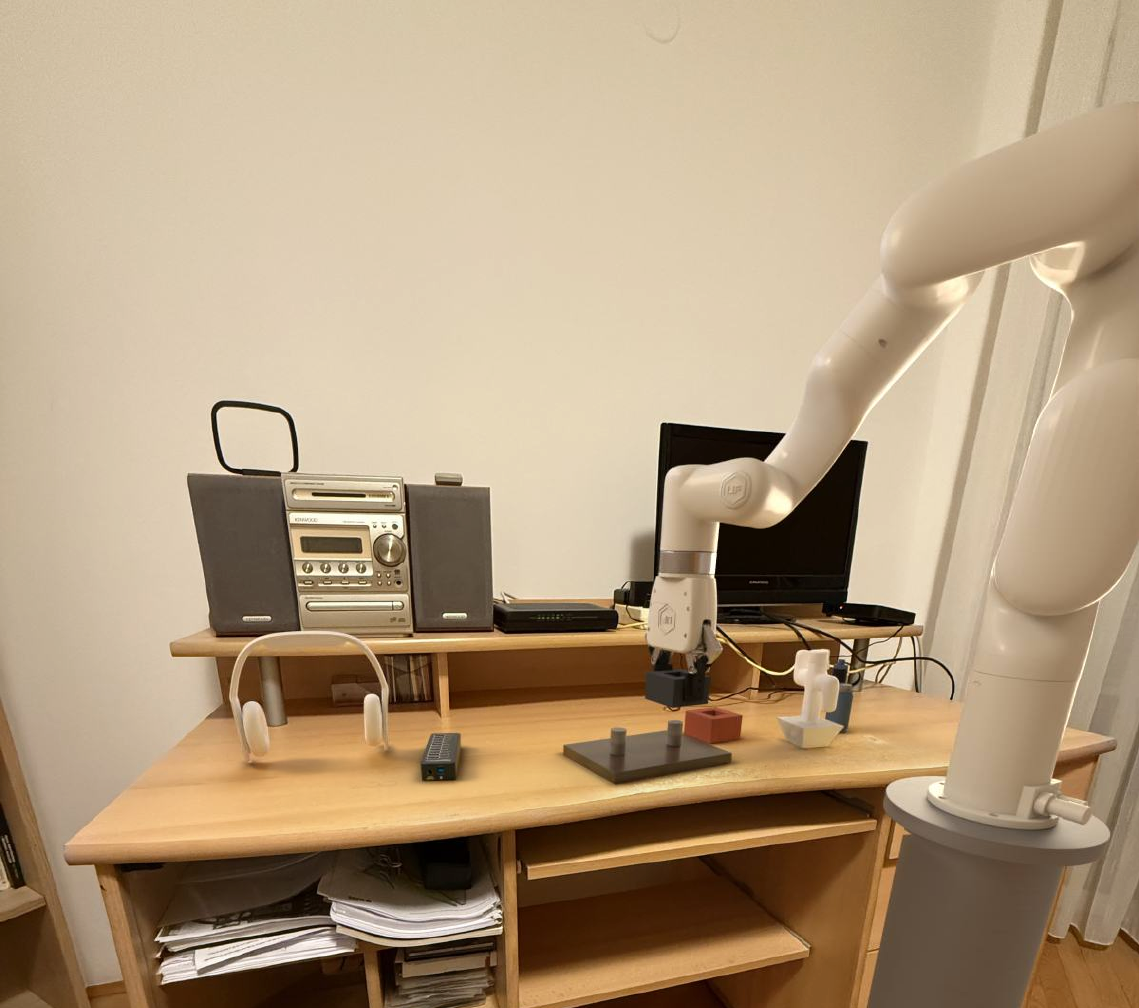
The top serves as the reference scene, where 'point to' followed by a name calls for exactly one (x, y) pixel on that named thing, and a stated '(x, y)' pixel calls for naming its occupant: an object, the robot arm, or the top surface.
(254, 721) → the headset
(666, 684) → the dark grey hollow block
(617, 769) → the pegboard
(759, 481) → the robot arm
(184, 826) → the top surface
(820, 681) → the figurine
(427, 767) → the multiport hub
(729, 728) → the red square holed block
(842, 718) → the vaping device
